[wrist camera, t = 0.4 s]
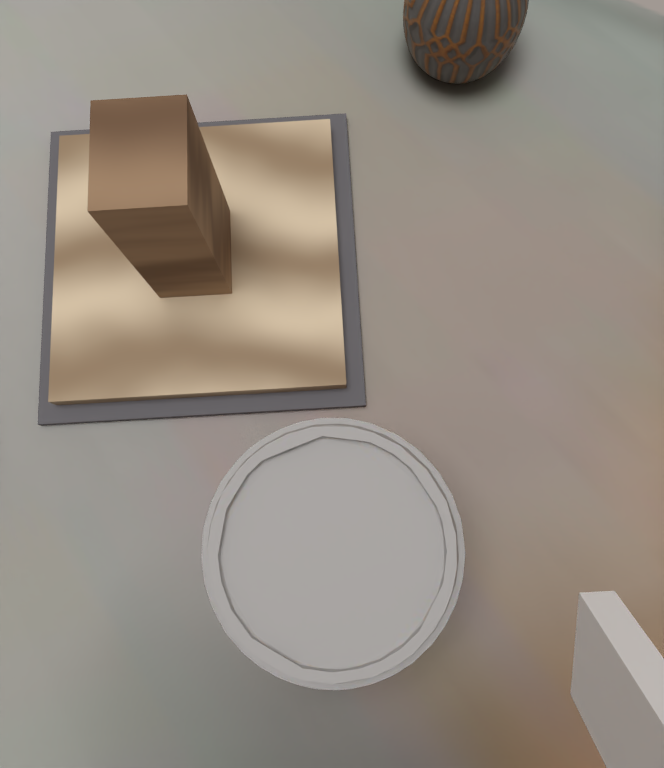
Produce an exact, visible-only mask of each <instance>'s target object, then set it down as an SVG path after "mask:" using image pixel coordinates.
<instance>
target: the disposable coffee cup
mask: <svg viewBox="0 0 664 768" xmlns="http://www.w3.org/2000/svg"><path fill="white" fill-rule="evenodd" d="M201 561H202V569H203V576H204V584H205V588H206V591H207V594H208V597H209V600H210V603H211V606H212V609H213V611H214V613H215V615H216V616H217V618H218V620H219V622H220V624H221V626H222V628H223V629H224V631H225V633H226V634H227V635H228V636H229V638H230V639H231V640H232V641H233V642H234V643H235V645H236V646H237V647H238V648H239V649H240V651H241V652H242V653H243V654H245V655H246V656H247V657H248V658H249V659H250V660H252V661H253V662H254V663H255V664H256V665H257V666H259V667H261V668H262V669H264V670H266V671H267V672H269V673H271V674H272V675H274V676H276V677H278V678H280V679H282V680H285V681H288V682H290V683H293V684H296V685H300V686H304V687H309V688H313V689H321V690H345V689H353V688H358V687H363V686H367V685H371V684H374V683H376V682H379V681H381V680H383V679H386V678H388V677H391V676H393V675H395V674H396V673H398V672H399V671H401V670H402V669H404V668H406V667H407V666H409V665H410V664H412V663H413V662H414V661H415V660H416V659H417V658H418V657H419V656H420V655H421V654H422V653H423V652H425V651H426V650H427V649H428V648H429V647H430V646H431V645H432V644H433V643H434V641H435V640H436V638H437V637H438V636H439V634H440V633H441V631H442V630H443V628H444V627H445V626H446V624H447V622H448V620H449V617H450V615H451V613H452V611H453V609H454V607H455V605H456V603H457V599H458V595H459V592H460V588H461V584H462V581H463V572H464V562H465V546H464V538H463V530H462V522H461V518H460V515H459V513H458V510H457V507H456V504H455V502H454V499H453V496H452V494H451V492H450V490H449V489H448V487H447V485H446V483H445V482H444V480H443V478H442V476H441V475H440V473H439V472H438V471H437V469H436V468H435V467H434V466H433V465H432V464H431V463H430V462H429V461H428V459H427V458H426V457H425V456H424V455H423V454H422V453H421V452H420V451H419V450H418V449H416V448H415V447H414V446H412V445H411V444H410V443H408V442H407V441H406V440H404V439H403V438H401V437H400V436H399V435H397V434H395V433H393V432H390V431H388V430H386V429H383V428H381V427H379V426H377V425H374V424H372V423H368V422H363V421H358V420H354V419H349V418H318V419H313V420H307V421H301V422H298V423H295V424H292V425H289V426H286V427H284V428H281V429H279V430H277V431H276V432H274V433H272V434H270V435H268V436H266V437H265V438H263V439H261V440H260V441H258V442H257V443H256V444H255V445H253V446H252V447H251V448H249V449H248V450H247V451H246V452H245V453H244V454H243V455H242V456H241V457H240V458H239V459H238V460H237V461H236V462H235V463H234V465H233V466H232V467H231V469H230V470H229V471H228V473H227V474H226V475H225V477H224V478H223V479H222V481H221V483H220V485H219V487H218V489H217V491H216V493H215V495H214V497H213V499H212V501H211V503H210V507H209V510H208V514H207V517H206V521H205V524H204V528H203V539H202V555H201Z"/></svg>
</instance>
